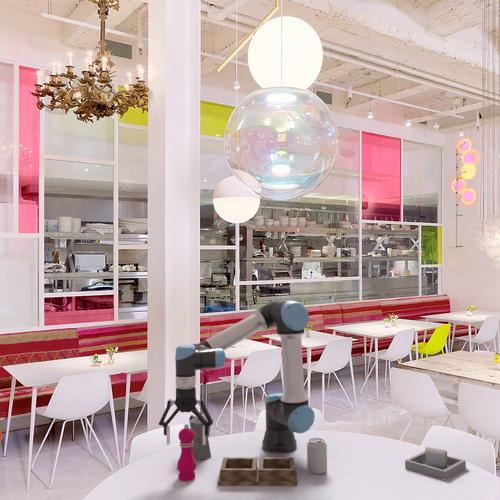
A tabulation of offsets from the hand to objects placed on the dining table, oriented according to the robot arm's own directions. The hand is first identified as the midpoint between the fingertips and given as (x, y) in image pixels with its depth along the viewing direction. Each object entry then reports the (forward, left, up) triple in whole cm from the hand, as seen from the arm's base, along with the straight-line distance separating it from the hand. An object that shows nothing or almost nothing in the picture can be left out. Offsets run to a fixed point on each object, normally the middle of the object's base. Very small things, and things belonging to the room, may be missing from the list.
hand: (186, 443), depth 198 cm
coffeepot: (-18, -16, -13) cm, 27 cm away
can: (-40, +30, -13) cm, 52 cm away
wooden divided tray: (-19, +19, -13) cm, 30 cm away
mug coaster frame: (-75, +60, -13) cm, 97 cm away
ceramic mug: (-77, +59, -13) cm, 98 cm away
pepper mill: (0, 0, -13) cm, 13 cm away
